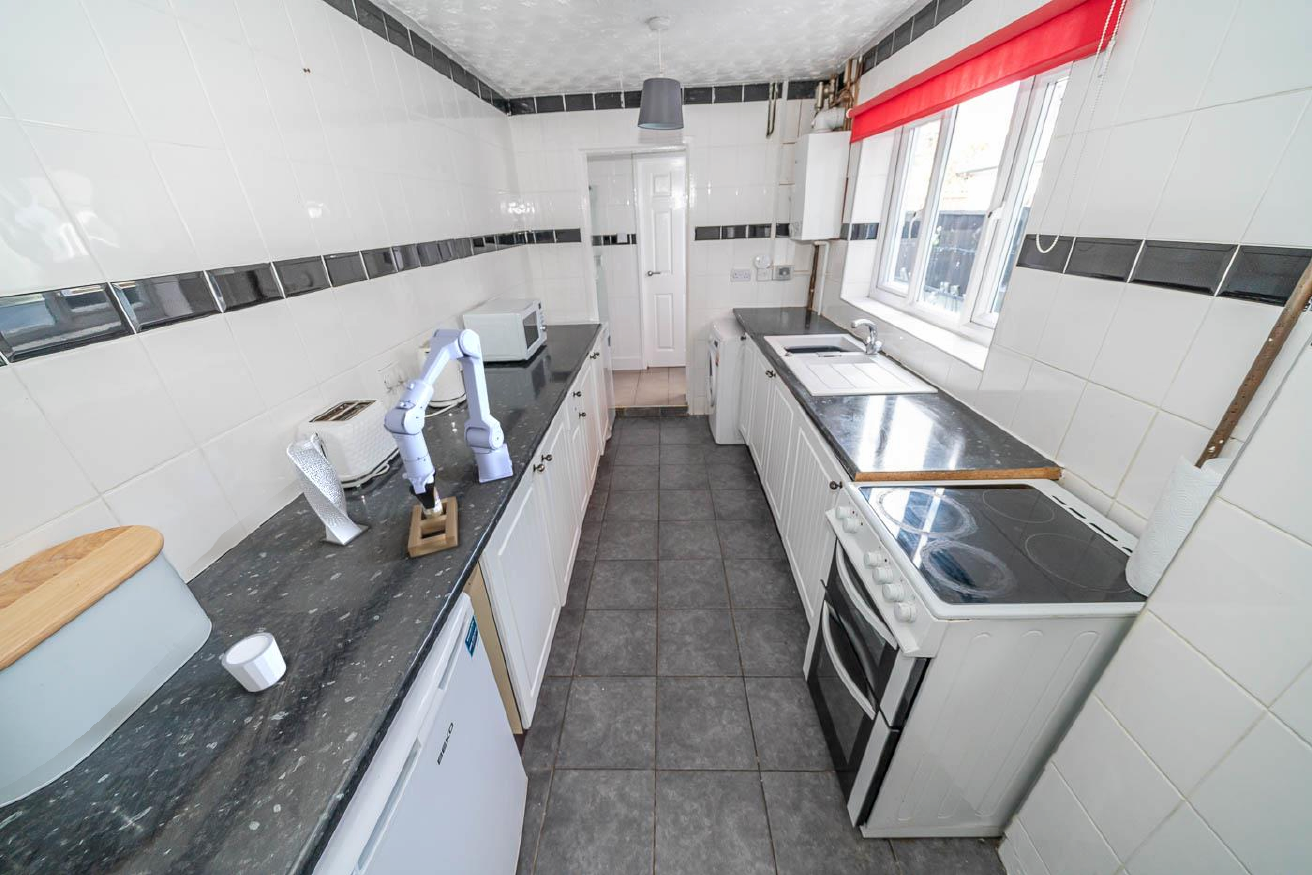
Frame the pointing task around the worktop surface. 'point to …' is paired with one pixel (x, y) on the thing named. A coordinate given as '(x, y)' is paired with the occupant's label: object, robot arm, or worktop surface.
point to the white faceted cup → (255, 661)
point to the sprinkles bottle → (438, 507)
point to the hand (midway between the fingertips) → (431, 502)
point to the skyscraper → (323, 490)
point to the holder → (433, 529)
